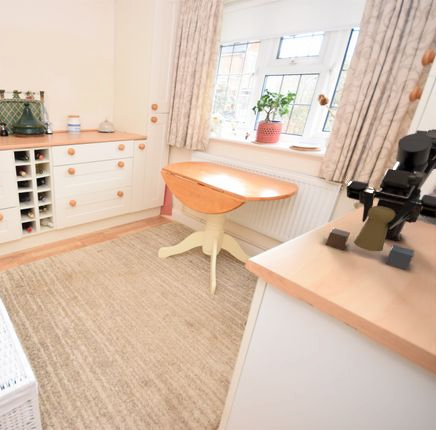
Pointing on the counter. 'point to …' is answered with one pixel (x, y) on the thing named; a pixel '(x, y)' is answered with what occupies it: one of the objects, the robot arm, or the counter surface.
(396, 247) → the slate block
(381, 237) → the cork
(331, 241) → the walnut block
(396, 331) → the counter surface
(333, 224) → the counter surface
